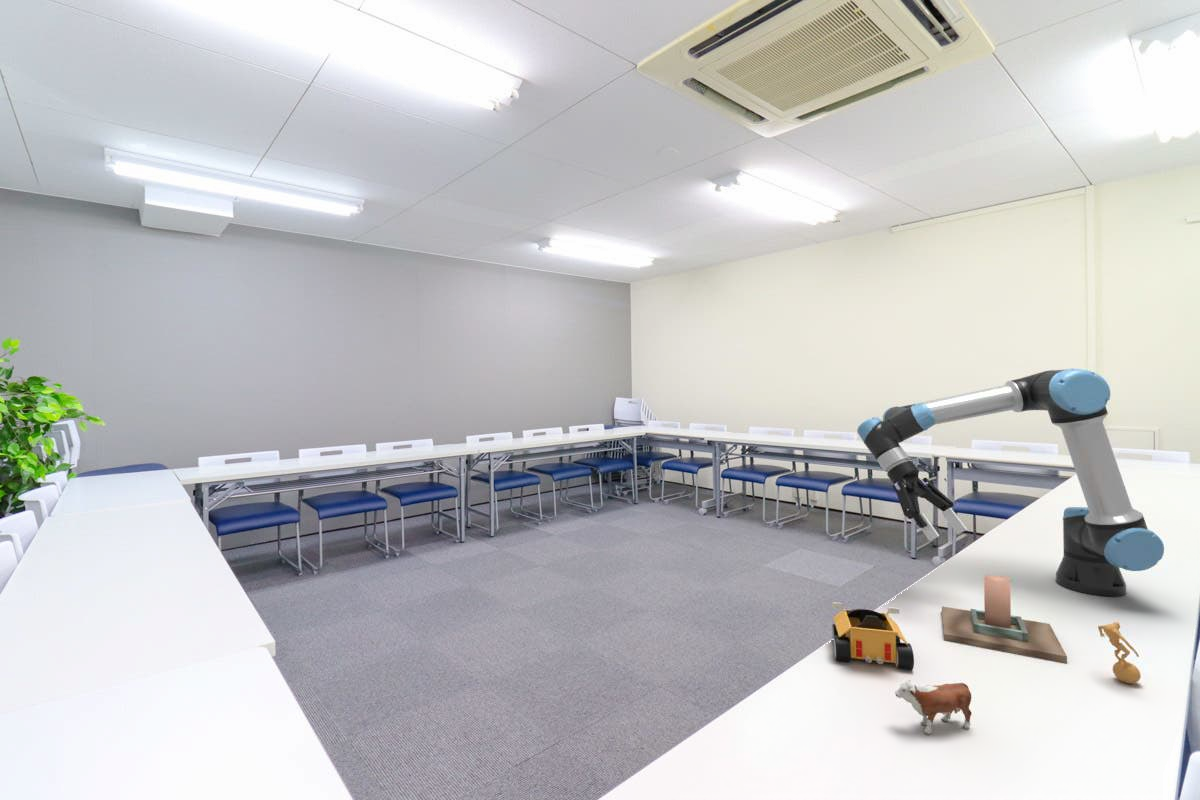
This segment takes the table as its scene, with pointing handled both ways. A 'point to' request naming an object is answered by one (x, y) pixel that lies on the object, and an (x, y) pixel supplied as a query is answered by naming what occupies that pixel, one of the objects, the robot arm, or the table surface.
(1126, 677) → the figurine
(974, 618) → the jig board
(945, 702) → the bull figurine
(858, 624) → the race car
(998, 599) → the pink rounded cylinder
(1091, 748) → the table surface
